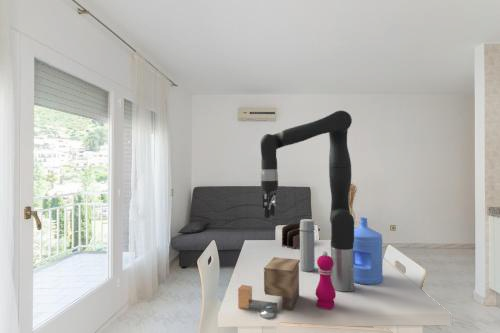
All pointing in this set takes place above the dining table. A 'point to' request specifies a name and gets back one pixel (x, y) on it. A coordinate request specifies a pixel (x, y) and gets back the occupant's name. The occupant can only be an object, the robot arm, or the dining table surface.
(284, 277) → the brown wooden block
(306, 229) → the water bottle
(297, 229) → the letter holder
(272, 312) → the token
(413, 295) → the dining table surface
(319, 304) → the pepper mill
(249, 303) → the tan grey l-shaped piece
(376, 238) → the water jug
